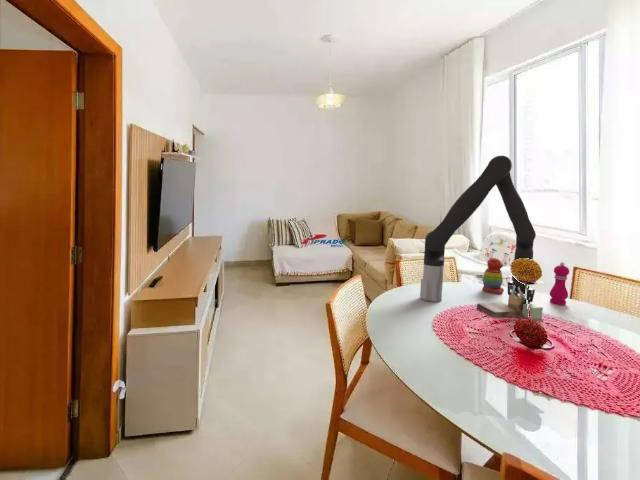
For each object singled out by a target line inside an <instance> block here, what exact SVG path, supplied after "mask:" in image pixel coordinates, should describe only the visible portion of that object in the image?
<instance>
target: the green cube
mask: <svg viewBox="0 0 640 480" xmlns="http://www.w3.org/2000/svg"><path fill="white" fill-rule="evenodd" d="M529 308H530V315H531V318H532V319H531V320H542V319H543V309H544V307H543V306H541V305H538V304H535V303H530V304H529ZM521 313H522V314H521V315H522V316H524V317H525V318H528V309H527V304H523V312H521ZM528 319H529V318H528Z"/></svg>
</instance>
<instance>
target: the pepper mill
mask: <svg viewBox="0 0 640 480" xmlns="http://www.w3.org/2000/svg"><path fill="white" fill-rule="evenodd" d="M565 265H566V264H565V262H564V261H563V262H562V261H561V262H560V263H559V264H558V265H556V266H555V267H554V269H553V272H554V274H555V275H554V281H555V282H554V285H553V286H552V288H551V289H550V291H549V295H550V297H551V298H550V299H549V303H551V304H552V305H555V304H556V306H566V305H565V304H567V299H568V298H569V292H568V290H567V288H566V281H567V280H568V276H569V274H570V269H569V267H567V266H565Z"/></svg>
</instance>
